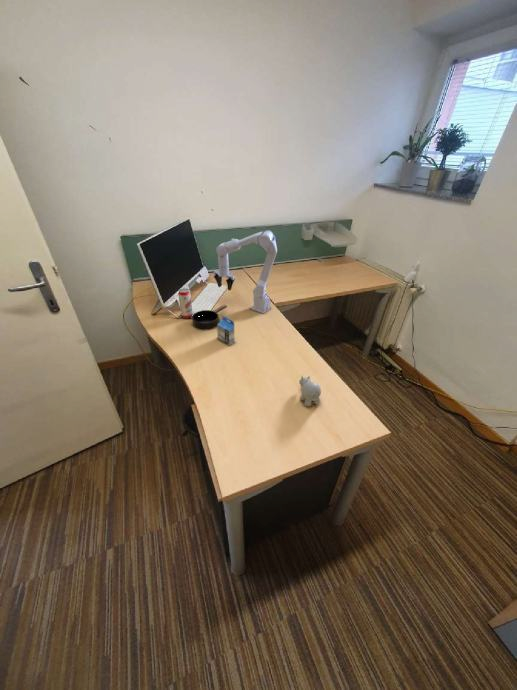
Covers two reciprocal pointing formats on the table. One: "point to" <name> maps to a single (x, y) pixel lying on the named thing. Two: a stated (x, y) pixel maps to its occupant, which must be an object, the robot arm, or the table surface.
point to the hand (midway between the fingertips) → (224, 288)
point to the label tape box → (226, 330)
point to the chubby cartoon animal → (309, 391)
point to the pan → (207, 318)
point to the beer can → (185, 303)
